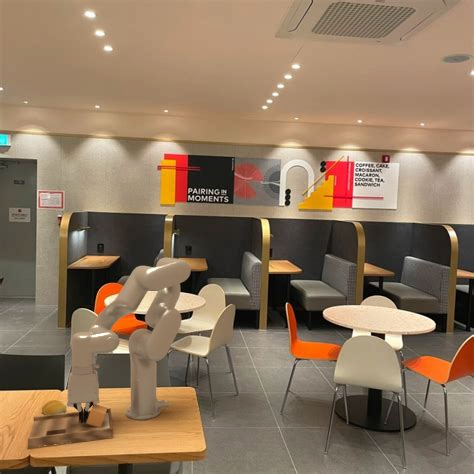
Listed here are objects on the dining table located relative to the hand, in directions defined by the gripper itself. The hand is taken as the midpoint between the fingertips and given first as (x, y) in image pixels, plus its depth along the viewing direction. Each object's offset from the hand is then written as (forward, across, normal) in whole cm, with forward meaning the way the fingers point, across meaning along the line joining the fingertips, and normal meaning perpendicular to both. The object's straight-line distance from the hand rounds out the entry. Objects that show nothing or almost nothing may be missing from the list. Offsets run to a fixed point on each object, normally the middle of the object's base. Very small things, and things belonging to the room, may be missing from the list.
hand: (83, 421), depth 161 cm
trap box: (+3, +4, 0) cm, 5 cm away
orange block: (0, -4, +1) cm, 4 cm away
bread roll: (+4, +11, -19) cm, 22 cm away
